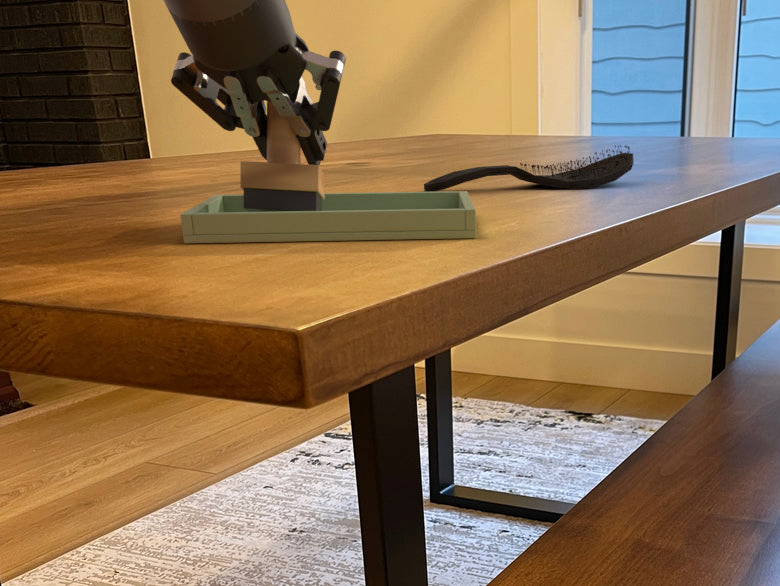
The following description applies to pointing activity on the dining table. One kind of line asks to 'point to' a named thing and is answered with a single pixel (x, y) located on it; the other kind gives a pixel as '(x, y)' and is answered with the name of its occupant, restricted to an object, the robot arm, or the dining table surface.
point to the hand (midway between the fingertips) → (298, 158)
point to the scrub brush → (281, 173)
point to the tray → (335, 219)
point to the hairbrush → (568, 179)
